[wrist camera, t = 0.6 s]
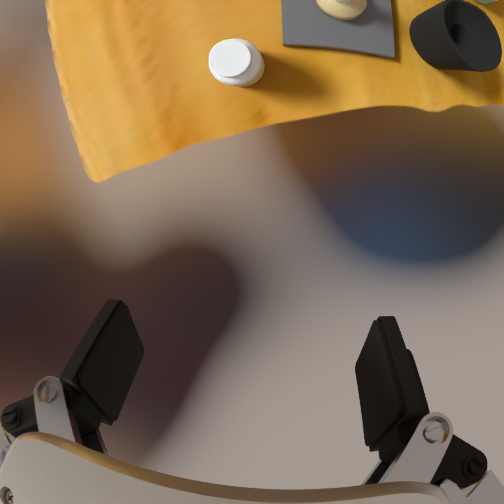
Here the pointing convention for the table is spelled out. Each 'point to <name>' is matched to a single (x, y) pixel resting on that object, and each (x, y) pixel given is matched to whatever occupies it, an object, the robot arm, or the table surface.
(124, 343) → the robot arm
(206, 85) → the table surface
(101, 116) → the table surface
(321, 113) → the table surface
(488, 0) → the ring
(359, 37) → the post stand
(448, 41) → the pen holder
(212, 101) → the table surface
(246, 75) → the supplement bottle
